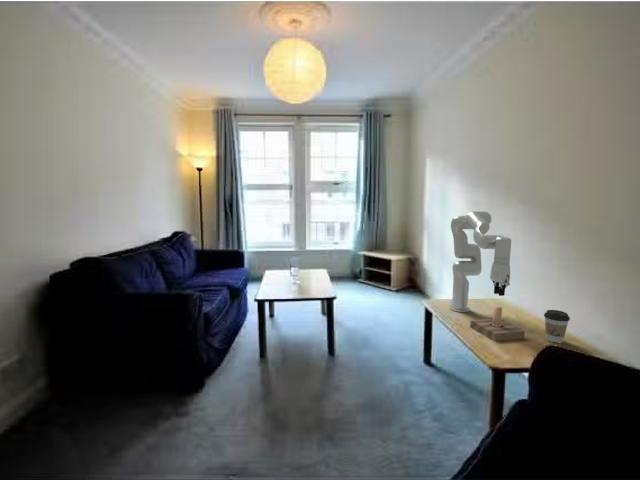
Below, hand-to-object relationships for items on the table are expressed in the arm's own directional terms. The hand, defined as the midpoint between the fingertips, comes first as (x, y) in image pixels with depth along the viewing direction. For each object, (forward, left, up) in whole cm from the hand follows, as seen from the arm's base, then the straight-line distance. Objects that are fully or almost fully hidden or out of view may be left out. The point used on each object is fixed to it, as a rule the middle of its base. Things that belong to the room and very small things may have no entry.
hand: (499, 294), depth 203 cm
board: (0, 0, -21) cm, 21 cm away
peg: (0, 0, -21) cm, 21 cm away
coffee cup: (+16, +22, -21) cm, 35 cm away
